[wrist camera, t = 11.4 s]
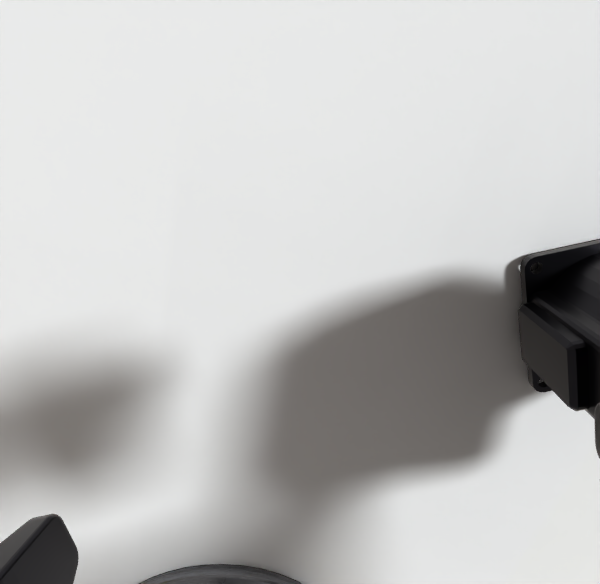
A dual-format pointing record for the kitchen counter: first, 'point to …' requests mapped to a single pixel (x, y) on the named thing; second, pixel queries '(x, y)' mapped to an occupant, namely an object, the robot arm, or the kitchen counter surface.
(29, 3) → the kitchen counter surface
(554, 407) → the kitchen counter surface
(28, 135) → the kitchen counter surface
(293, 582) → the base
